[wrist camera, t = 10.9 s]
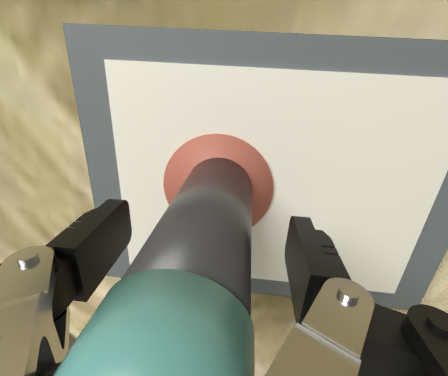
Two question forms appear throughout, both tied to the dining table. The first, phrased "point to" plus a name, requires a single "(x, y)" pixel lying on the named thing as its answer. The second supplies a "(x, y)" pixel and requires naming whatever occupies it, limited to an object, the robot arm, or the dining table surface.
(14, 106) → the dining table surface
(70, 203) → the dining table surface
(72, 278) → the robot arm
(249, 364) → the marker
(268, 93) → the drawing board
